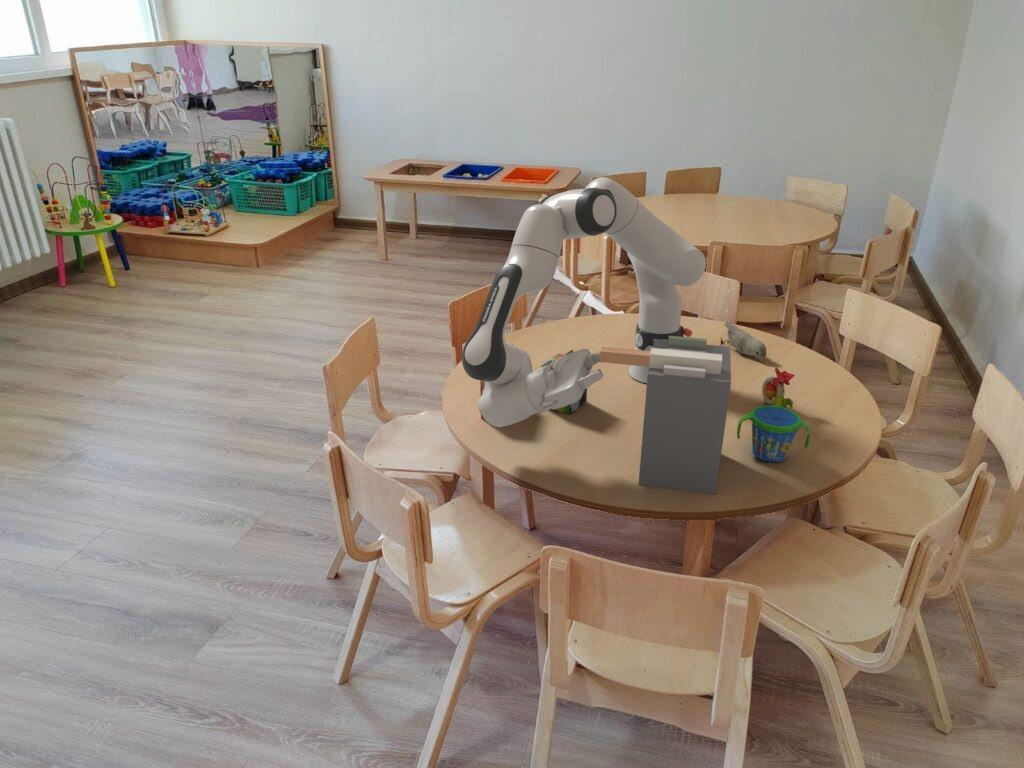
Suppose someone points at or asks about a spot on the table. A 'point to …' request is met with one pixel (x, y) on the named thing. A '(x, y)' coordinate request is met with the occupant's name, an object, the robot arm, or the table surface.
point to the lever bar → (662, 358)
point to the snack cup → (773, 431)
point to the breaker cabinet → (685, 421)
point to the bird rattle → (777, 389)
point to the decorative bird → (744, 342)
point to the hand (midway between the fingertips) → (604, 363)
